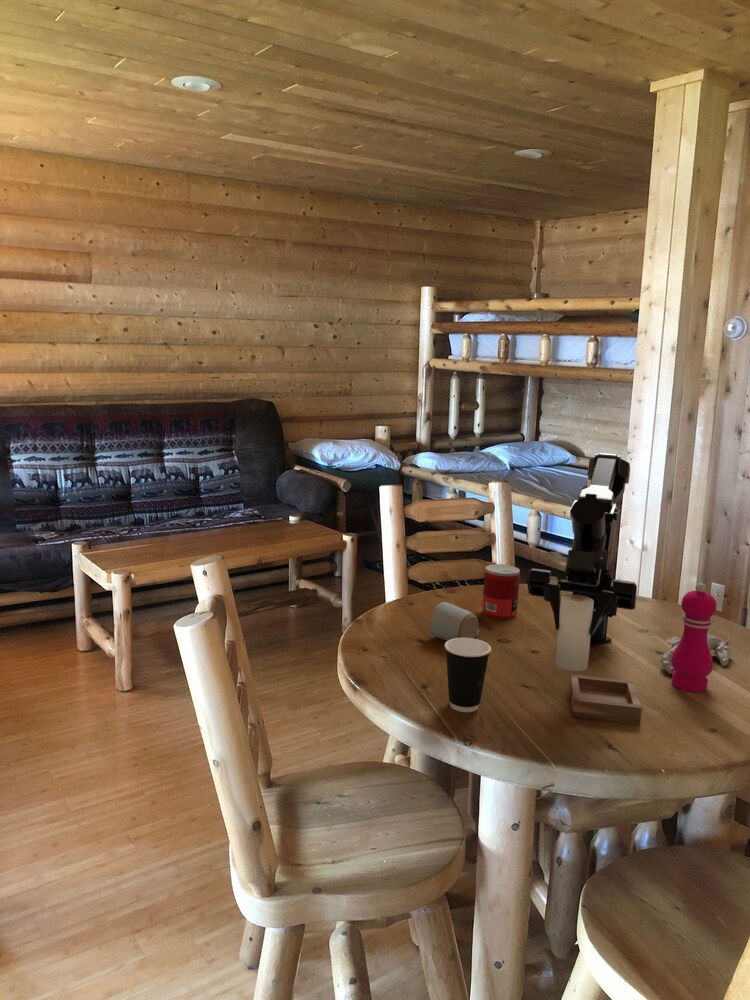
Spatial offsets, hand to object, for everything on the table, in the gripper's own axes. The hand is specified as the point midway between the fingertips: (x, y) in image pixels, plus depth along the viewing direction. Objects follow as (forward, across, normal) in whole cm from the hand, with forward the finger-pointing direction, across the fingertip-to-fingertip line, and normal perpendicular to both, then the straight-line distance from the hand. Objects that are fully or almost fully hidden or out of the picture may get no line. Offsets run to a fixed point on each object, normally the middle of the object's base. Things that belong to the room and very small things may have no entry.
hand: (573, 631), depth 137 cm
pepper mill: (-3, +20, +23) cm, 30 cm away
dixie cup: (+16, -16, +4) cm, 23 cm away
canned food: (-19, -21, +39) cm, 48 cm away
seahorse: (-11, +21, +31) cm, 39 cm away
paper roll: (+4, 0, +6) cm, 7 cm away
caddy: (+8, +6, +11) cm, 15 cm away
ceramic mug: (-5, -26, +25) cm, 37 cm away
